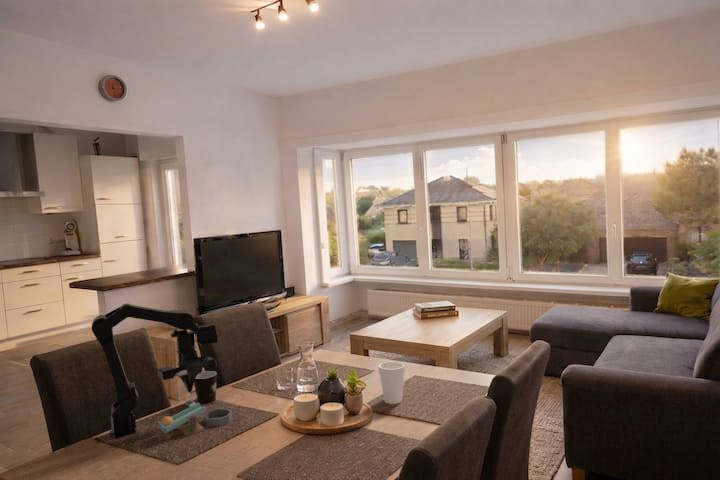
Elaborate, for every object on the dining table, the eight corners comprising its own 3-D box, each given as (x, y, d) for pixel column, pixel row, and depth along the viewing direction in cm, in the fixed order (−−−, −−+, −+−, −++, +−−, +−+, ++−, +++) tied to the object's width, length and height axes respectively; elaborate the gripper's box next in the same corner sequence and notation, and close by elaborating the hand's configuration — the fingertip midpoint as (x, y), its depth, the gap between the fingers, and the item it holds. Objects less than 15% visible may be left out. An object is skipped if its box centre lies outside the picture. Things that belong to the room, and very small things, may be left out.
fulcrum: (163, 443, 165) (162, 427, 164) (154, 435, 171) (153, 419, 171) (203, 430, 173) (202, 415, 173) (193, 422, 180) (192, 408, 179)
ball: (165, 429, 168) (162, 420, 167) (162, 426, 170) (159, 417, 170) (175, 425, 170) (172, 416, 169) (171, 422, 172) (169, 413, 172)
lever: (165, 434, 167) (163, 426, 166) (151, 421, 177) (149, 414, 177) (207, 411, 175) (204, 404, 175) (191, 400, 186) (189, 394, 185)
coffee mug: (204, 406, 194) (202, 380, 193) (190, 402, 199) (188, 376, 198) (229, 396, 203) (228, 371, 202) (215, 392, 208) (213, 367, 207)
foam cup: (406, 405, 186) (405, 369, 185) (380, 406, 186) (378, 370, 185) (405, 395, 195) (403, 360, 194) (380, 396, 195) (378, 361, 194)
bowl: (211, 428, 174) (210, 421, 174) (200, 420, 181) (200, 413, 181) (235, 420, 180) (235, 413, 180) (224, 413, 187) (224, 406, 187)
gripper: (167, 358, 170) (170, 406, 171) (222, 346, 181) (225, 390, 182) (155, 352, 178) (159, 397, 179) (208, 340, 190) (211, 383, 191)
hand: (189, 392), depth 183 cm, fingers closed
